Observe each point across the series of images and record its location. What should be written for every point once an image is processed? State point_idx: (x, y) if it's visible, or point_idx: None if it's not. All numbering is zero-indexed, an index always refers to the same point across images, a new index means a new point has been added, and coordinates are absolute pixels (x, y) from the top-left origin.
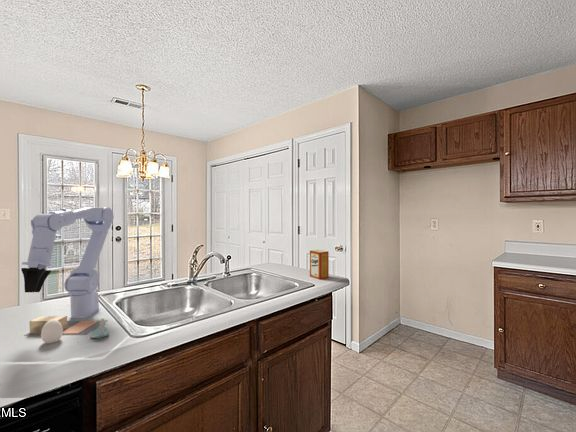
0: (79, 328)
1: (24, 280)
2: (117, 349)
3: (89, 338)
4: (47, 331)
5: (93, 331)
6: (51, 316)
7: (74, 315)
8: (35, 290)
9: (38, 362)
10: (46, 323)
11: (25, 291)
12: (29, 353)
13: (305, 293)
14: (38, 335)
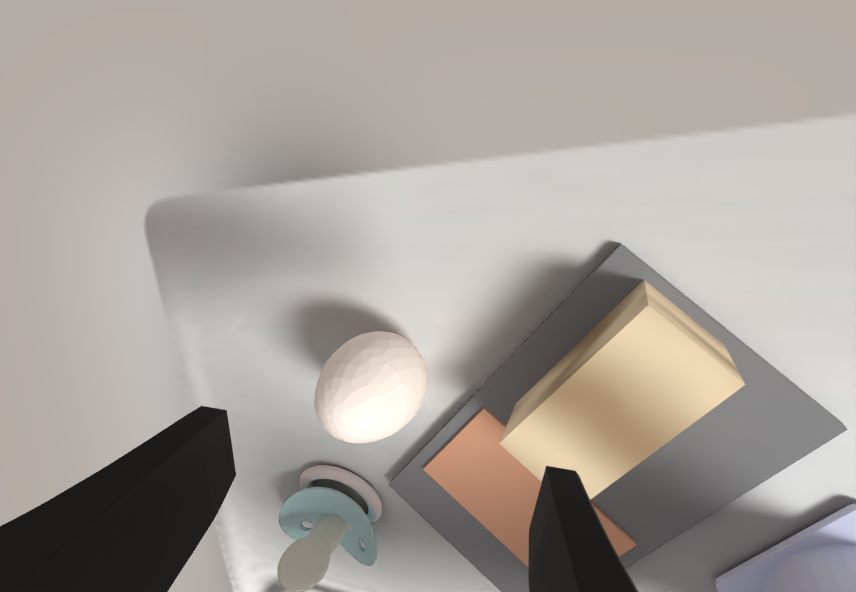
0: (492, 494)
1: (25, 514)
2: None
3: (333, 479)
4: (322, 369)
5: (363, 515)
6: (653, 441)
7: (804, 561)
8: (538, 521)
9: (235, 293)
10: (328, 388)
11: (189, 415)
12: (339, 268)
13: None
14: (549, 319)
